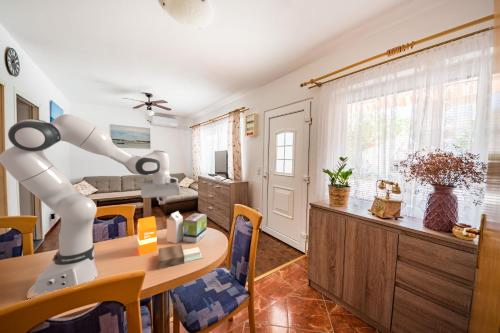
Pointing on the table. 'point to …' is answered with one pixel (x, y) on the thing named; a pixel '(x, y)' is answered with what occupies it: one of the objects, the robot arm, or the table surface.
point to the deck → (170, 256)
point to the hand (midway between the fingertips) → (161, 204)
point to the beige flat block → (191, 252)
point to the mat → (193, 258)
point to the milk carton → (175, 228)
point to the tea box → (194, 227)
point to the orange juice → (147, 235)
